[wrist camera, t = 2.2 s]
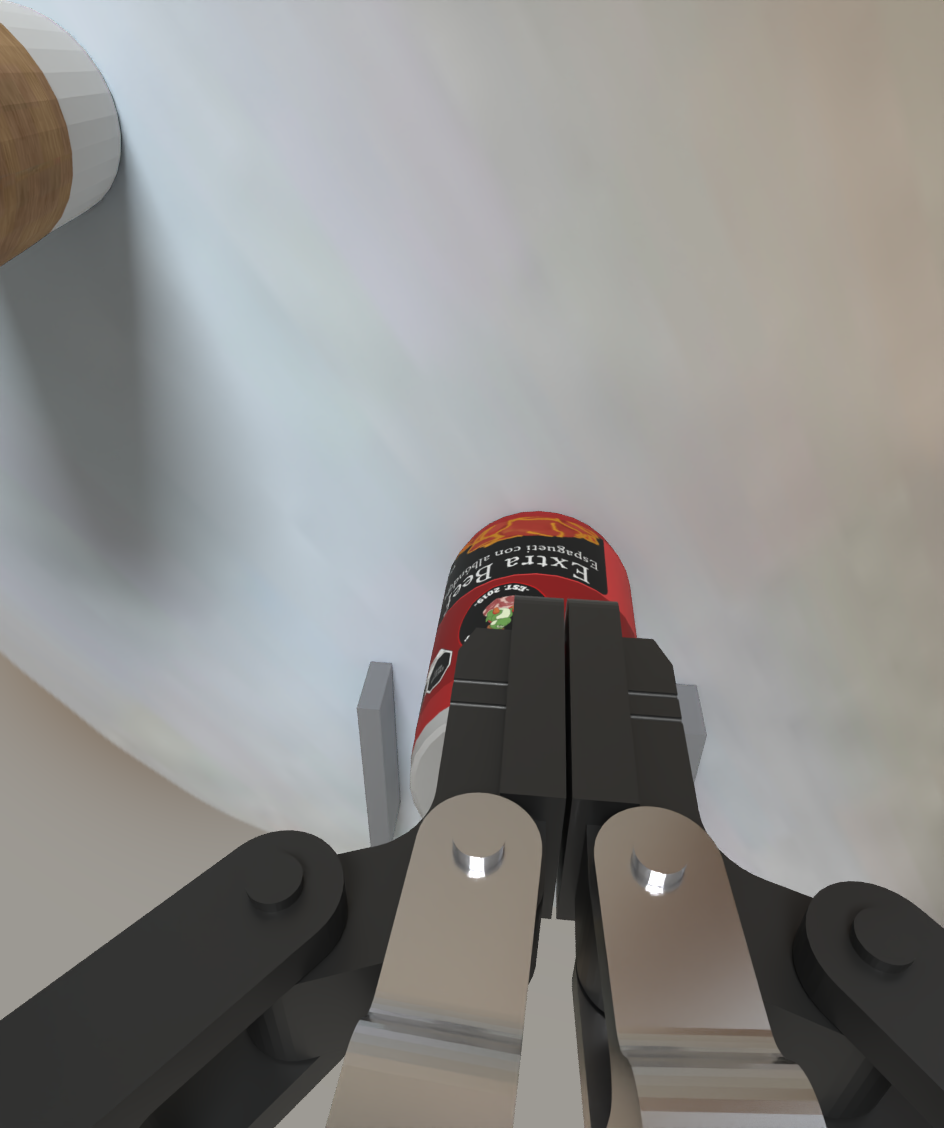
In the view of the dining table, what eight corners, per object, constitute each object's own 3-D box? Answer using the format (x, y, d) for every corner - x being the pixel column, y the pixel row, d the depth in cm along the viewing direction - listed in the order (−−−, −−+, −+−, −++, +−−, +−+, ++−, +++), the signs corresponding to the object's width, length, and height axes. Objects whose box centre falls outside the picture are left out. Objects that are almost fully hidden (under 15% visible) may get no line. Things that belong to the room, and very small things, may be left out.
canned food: (607, 485, 30) (627, 682, 21) (645, 640, 34) (676, 861, 25) (421, 527, 32) (367, 724, 23) (479, 669, 36) (453, 884, 27)
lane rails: (696, 685, 35) (706, 735, 33) (663, 824, 41) (669, 875, 39) (370, 661, 36) (356, 707, 34) (382, 800, 42) (371, 848, 40)
